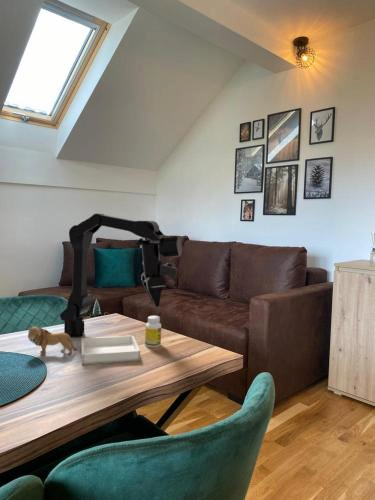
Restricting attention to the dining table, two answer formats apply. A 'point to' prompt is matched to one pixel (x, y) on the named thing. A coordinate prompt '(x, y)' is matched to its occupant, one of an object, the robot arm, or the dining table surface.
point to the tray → (109, 350)
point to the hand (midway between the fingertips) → (155, 303)
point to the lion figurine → (49, 339)
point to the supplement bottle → (153, 332)
